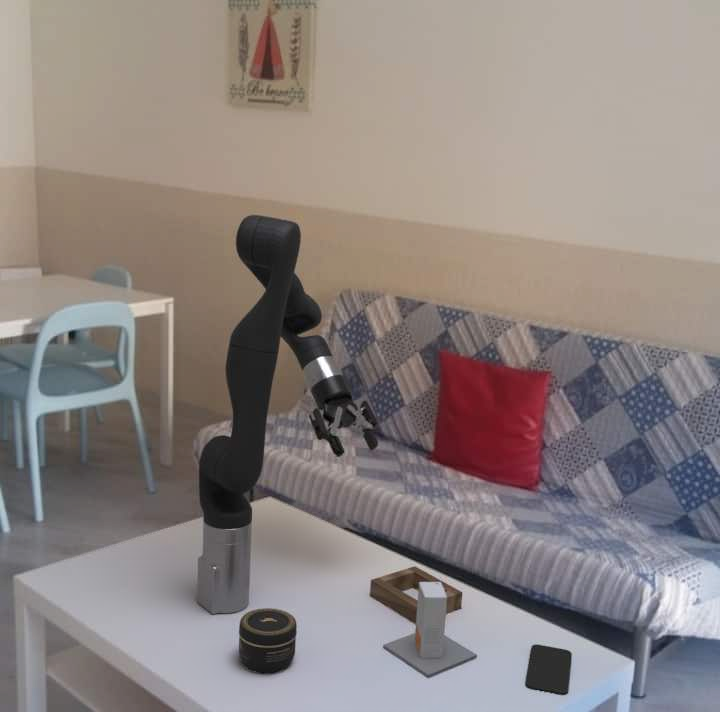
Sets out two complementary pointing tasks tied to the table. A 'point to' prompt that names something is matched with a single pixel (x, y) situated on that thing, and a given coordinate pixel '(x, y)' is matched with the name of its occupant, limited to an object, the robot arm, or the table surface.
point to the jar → (267, 640)
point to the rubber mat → (430, 666)
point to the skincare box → (430, 619)
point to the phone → (549, 669)
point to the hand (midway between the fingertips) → (358, 451)
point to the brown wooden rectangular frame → (394, 583)
